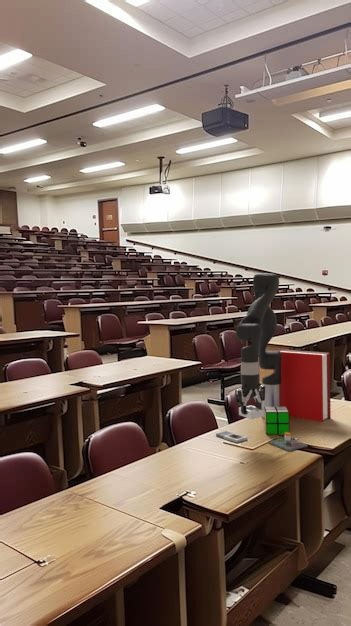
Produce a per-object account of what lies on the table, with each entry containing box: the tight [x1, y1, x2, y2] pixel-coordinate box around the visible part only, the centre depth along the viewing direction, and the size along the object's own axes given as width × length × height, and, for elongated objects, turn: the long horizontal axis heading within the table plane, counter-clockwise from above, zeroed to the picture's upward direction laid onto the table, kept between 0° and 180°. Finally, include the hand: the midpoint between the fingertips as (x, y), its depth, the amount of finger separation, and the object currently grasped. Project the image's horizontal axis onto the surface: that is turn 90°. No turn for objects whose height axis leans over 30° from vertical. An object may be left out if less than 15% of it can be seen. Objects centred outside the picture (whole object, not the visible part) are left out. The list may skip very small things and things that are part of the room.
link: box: [238, 405, 264, 420], centre depth 197 cm, size 8×6×3 cm
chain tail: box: [215, 430, 248, 444], centre depth 207 cm, size 13×6×1 cm, turn 37°
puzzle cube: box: [263, 407, 290, 436], centre depth 215 cm, size 10×10×10 cm
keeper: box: [268, 431, 308, 452], centre depth 196 cm, size 12×10×5 cm
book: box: [272, 349, 332, 423], centre depth 239 cm, size 27×8×32 cm, turn 48°
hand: (251, 412), depth 197 cm, fingers closed on link, 6 cm apart
